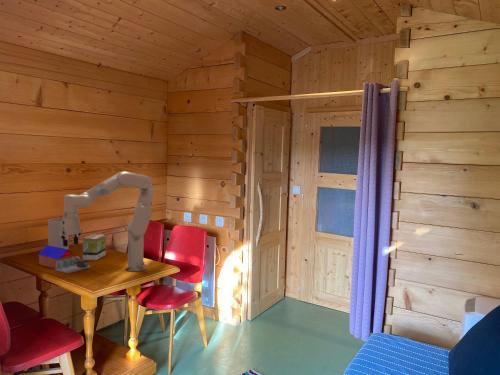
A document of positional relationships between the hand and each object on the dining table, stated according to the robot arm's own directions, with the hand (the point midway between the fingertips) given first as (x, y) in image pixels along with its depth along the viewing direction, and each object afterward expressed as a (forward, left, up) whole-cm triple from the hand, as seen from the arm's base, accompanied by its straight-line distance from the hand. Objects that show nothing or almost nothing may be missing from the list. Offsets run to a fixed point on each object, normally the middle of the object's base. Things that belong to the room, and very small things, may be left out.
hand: (70, 244), depth 233 cm
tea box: (+15, -30, -16) cm, 37 cm away
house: (+18, -4, -16) cm, 25 cm away
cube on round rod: (0, -8, -15) cm, 17 cm away
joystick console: (+3, -4, -16) cm, 17 cm away
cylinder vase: (+39, -20, -16) cm, 47 cm away
